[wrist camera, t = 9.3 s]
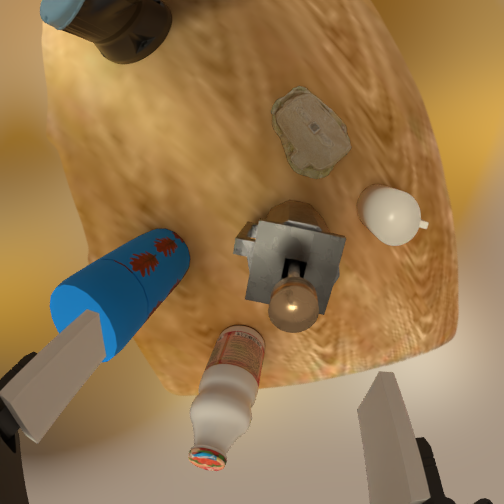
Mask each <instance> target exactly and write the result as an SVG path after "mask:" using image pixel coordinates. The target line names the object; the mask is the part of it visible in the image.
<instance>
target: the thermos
mask: <svg viewBox="0 0 504 504" xmlns="http://www.w3.org/2000/svg"><path fill="white" fill-rule="evenodd" d="M189 262H190V255H189V251H188V247H187V246H186V244H185V243H184V241H183V239H182V238H181V237H179V236H178V235H177V234H176V233H175V232H173V231H170V230H168V229H155V230H152V231H150V232H147V233H145V234H143V235H140V236H138V237H136V238H135V239H133V240H131V241H129V242H127V243H126V244H124V245H122V246H120V247H119V248H117V249H115V250H113V251H112V252H110V253H108V254H107V255H105V256H103V257H101V258H100V259H98V260H96V261H95V262H93V263H91V264H90V265H88V266H86V267H85V268H83V269H82V270H80V271H78V272H77V273H75V274H73V275H72V276H70V277H69V278H67V279H65V280H64V281H63V282H62V283H61V284H59V285H58V286H57V287H56V288H55V290H54V291H53V293H52V295H51V300H50V310H51V315H52V319H53V321H54V324H55V326H56V328H57V330H58V332H59V334H60V333H61V332H62V331H63V330H64V329H65V328H66V327H67V326H68V325H70V324H71V323H72V322H73V321H74V320H75V319H76V318H77V317H79V316H80V315H81V314H82V313H83V312H84V311H85V310H87V309H88V310H91V311H94V312H97V313H99V317H100V323H101V329H102V335H103V341H104V346H105V352H106V357H105V358H104V360H103V361H102V362H107V361H109V360H110V359H111V358H113V357H114V356H115V355H116V354H117V353H119V352H120V351H121V350H122V349H123V348H124V346H125V345H126V344H127V343H128V342H129V340H131V338H132V337H133V336H134V335H135V334H136V332H137V331H138V330H139V329H140V328H141V326H142V325H143V324H144V323H145V322H146V321H147V319H148V318H149V317H150V316H151V315H152V314H153V312H154V311H155V310H156V309H157V308H158V307H159V305H160V304H161V303H162V302H163V301H164V300H165V298H166V297H167V296H168V295H169V294H170V293H171V292H172V290H173V289H174V288H175V287H176V286H177V285H178V284H179V282H180V281H181V279H182V278H183V277H184V275H185V274H186V272H187V270H188V268H189Z"/></svg>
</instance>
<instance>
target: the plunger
mask: <svg viewBox="0 0 504 504" xmlns="http://www.w3.org/2000/svg"><path fill="white" fill-rule="evenodd" d="M305 265H306V262H304V261H299V260H294V259H289V258H285V261H284V266H283V270H282V272H284V273H288V278H284V279H282V280H281V281H279V282H278V283H277V284H276V285H275V286H274V288H273V290H272V292H271V297H270V303H269V309H268V313H269V317H270V320H271V322H272V323H273V324H274V325H275V326H276V327H277V328H279V329H280V330H282V331H285V332H290V333H296V332H301V331H304V330H307V329H308V328H310V327H311V326H312V325H313V324H314V323H315V322H316V320H317V318H318V314H319V306H318V299H317V293H316V290H315V288H314V286H313V285H312V284H311V283H310V282H309V281H308V280H306V279H304V278H301V277H300V273H303V272H304V270H305Z"/></svg>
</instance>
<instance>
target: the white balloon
mask: <svg viewBox="0 0 504 504" xmlns="http://www.w3.org/2000/svg"><path fill="white" fill-rule="evenodd" d="M357 214H358V217H359V219H360V221H361V222H362V223H363V224H364V225H365V226H366V227H367V228H368V229H369V230H370V231H371V232H372V233H373V234H374V235H375V236H376V237H377V238H378V239H379V240H380V241H382V242H383V243H385V244H387V245H392V246H398V245H402V244H405V243H407V242H408V241H410V240H411V239H412V238H413V237H414V236H415V234H416V233H417V231H418V229H419V227H421V228H424V229H427V227H428V222H426V221H424V220H422V219H421V213H420V208H419V206H418V204H417V202H416V200H415V199H414V198H413V197H412V196H411V195H410V194H408V193H406V192H403V191H400V190H397V189H394V188H391V187H388V186H384V185H372V186H370V187H368V188H366V189H365V190H364V191H363V192H362V193H361V195H360V196H359V199H358V202H357Z"/></svg>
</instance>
